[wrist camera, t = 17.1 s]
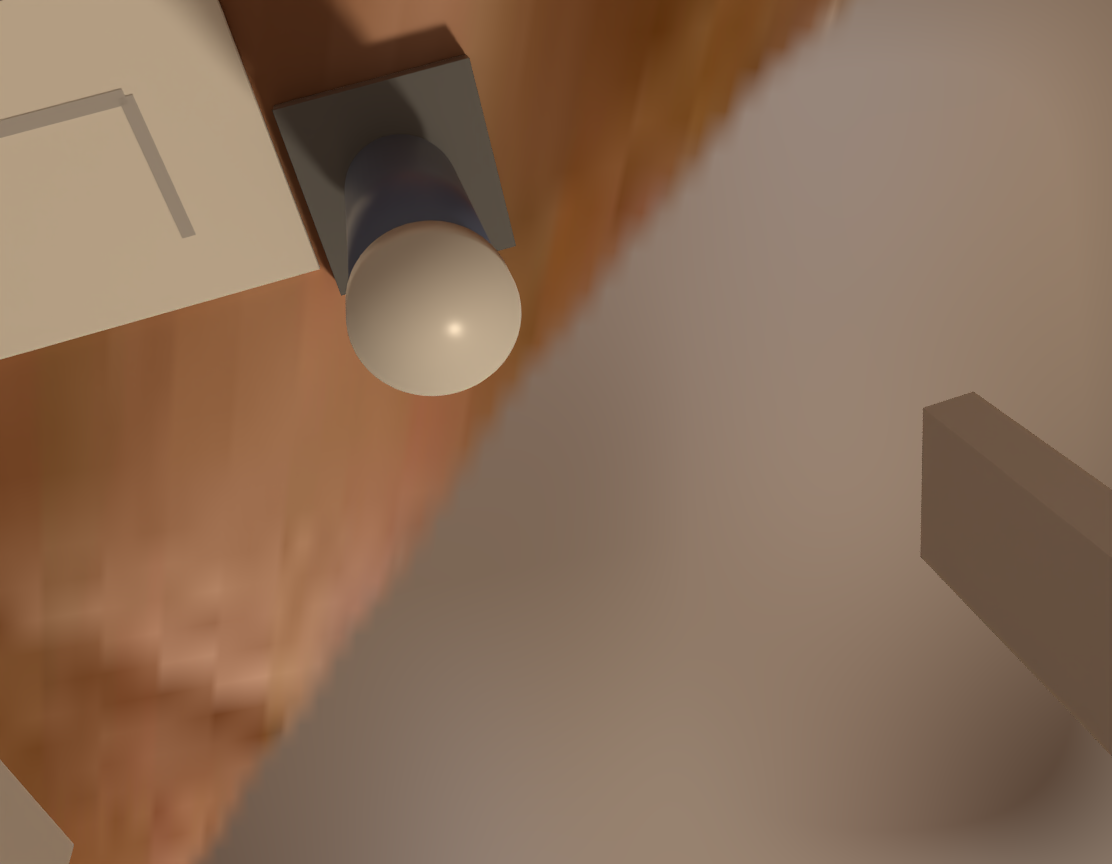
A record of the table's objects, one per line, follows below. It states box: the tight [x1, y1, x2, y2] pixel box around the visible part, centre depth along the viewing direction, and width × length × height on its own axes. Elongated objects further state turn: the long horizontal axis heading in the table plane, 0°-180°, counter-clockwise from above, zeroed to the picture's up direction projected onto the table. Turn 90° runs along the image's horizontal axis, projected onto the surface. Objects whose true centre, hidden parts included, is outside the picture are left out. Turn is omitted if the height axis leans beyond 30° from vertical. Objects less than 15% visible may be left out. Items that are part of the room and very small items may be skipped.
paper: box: [0, 0, 320, 359], centre depth 30 cm, size 16×11×1 cm
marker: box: [345, 134, 521, 396], centre depth 27 cm, size 4×4×13 cm
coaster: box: [272, 54, 516, 296], centre depth 33 cm, size 7×7×1 cm
